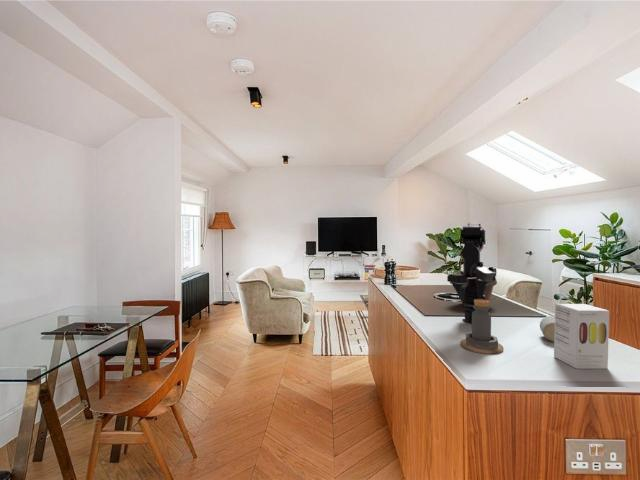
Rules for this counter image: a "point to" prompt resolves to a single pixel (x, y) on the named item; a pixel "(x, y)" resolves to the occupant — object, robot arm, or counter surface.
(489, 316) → the bottle
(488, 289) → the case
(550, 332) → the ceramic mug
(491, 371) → the counter surface
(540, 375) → the counter surface
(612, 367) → the counter surface
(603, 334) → the supplement box
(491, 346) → the ring coaster
